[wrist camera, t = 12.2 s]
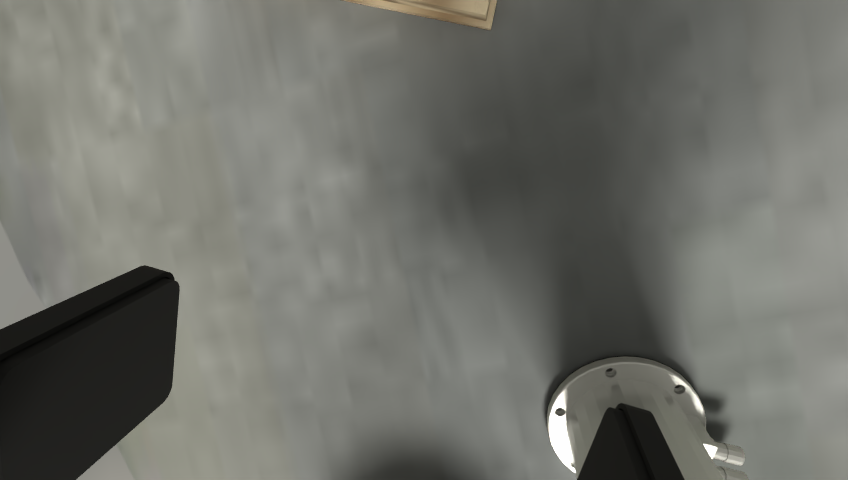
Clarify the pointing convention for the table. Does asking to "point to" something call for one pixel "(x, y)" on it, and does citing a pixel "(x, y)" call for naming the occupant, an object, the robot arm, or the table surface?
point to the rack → (442, 10)
